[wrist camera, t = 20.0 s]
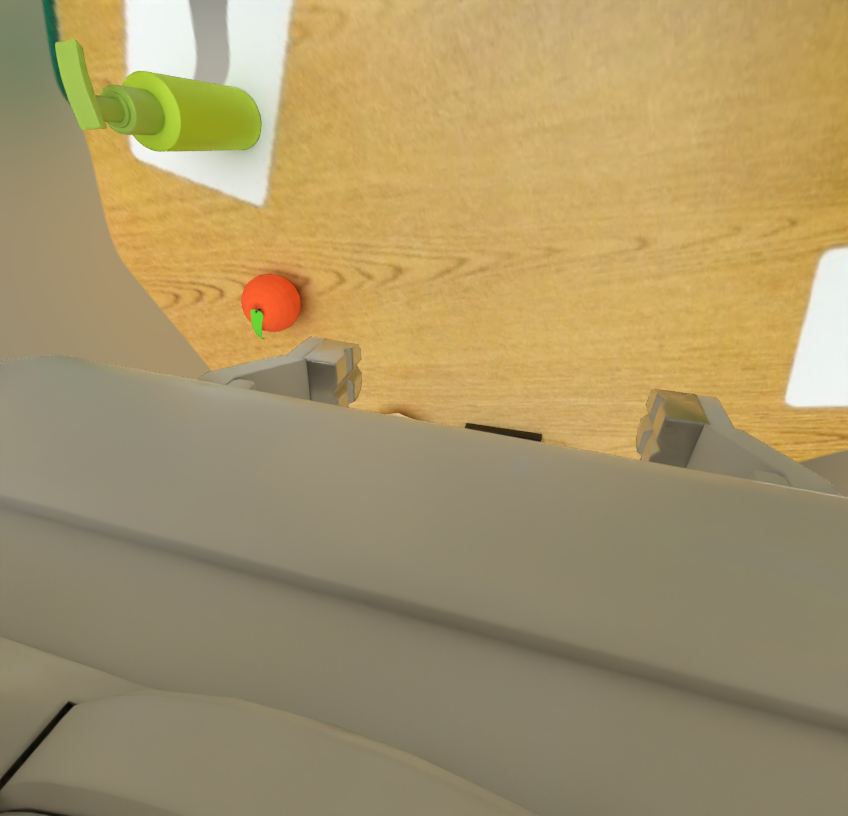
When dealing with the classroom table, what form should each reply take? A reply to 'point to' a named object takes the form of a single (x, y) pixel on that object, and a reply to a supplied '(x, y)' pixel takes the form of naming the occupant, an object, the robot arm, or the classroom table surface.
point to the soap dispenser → (161, 108)
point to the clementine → (270, 303)
